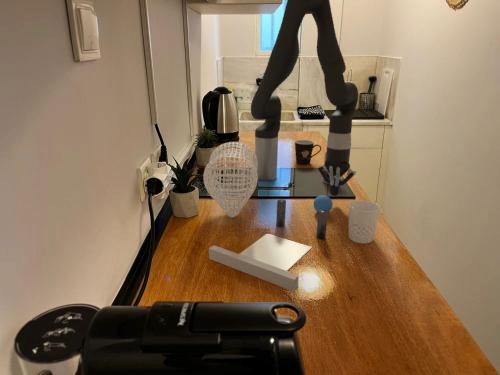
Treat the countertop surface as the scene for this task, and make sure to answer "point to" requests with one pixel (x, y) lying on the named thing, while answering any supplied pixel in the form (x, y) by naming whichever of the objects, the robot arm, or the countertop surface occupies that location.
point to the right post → (321, 224)
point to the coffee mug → (304, 151)
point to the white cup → (362, 221)
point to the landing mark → (276, 251)
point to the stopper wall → (254, 267)
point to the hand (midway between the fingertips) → (334, 195)
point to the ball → (323, 203)
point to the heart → (212, 178)
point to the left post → (281, 213)
